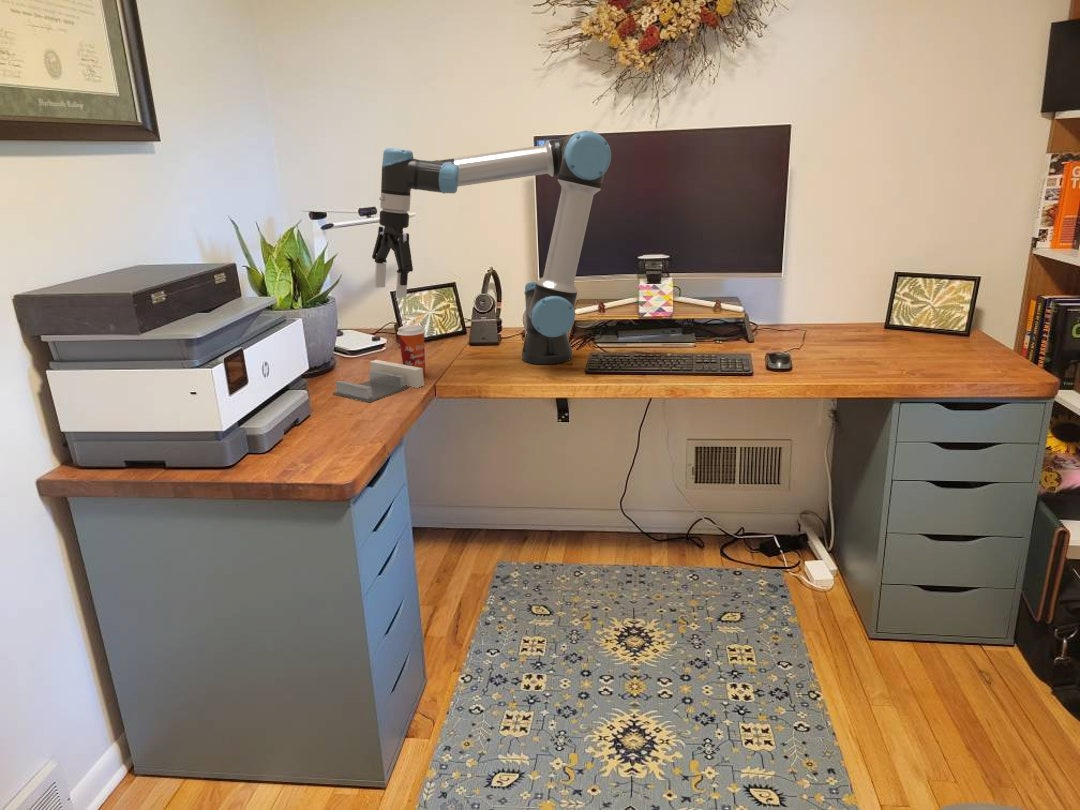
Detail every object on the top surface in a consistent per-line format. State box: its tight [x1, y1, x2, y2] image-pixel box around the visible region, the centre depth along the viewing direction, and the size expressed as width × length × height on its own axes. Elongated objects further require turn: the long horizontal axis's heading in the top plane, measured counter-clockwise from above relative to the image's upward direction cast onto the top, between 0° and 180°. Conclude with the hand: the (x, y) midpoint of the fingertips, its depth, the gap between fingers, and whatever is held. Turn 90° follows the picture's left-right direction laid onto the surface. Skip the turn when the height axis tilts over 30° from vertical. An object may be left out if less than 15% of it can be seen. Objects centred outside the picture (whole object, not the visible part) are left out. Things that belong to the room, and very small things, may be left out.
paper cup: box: [396, 324, 426, 378], centre depth 215 cm, size 8×8×14 cm
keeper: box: [332, 369, 410, 403], centre depth 204 cm, size 14×14×4 cm
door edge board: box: [369, 359, 425, 389], centre depth 211 cm, size 18×2×5 cm, turn 54°
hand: (390, 292), depth 206 cm, fingers open, 13 cm apart
